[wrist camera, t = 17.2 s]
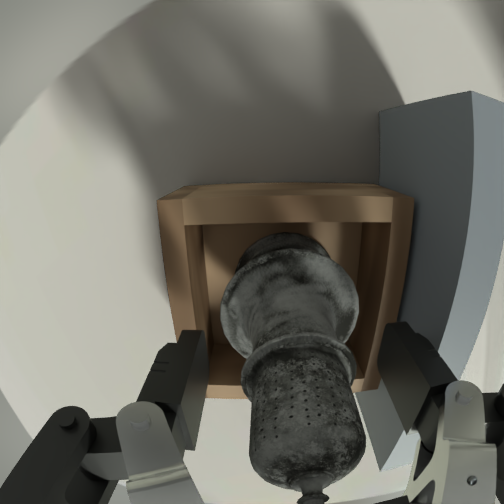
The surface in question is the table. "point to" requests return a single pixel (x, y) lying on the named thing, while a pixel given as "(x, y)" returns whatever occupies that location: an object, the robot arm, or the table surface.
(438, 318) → the backstop board
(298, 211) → the socket block
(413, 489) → the robot arm
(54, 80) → the table surface
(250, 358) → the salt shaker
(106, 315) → the table surface
